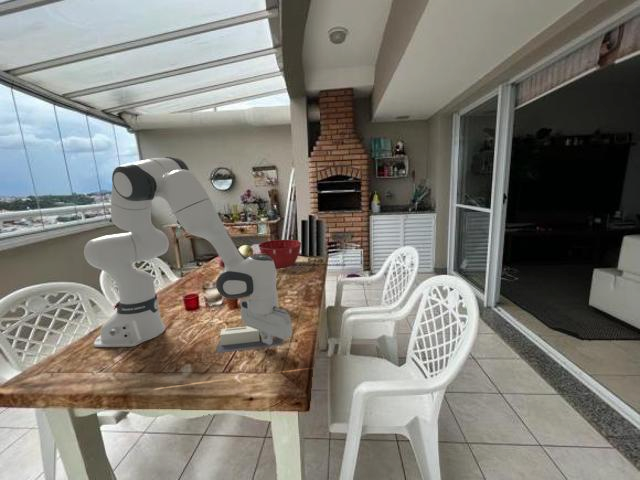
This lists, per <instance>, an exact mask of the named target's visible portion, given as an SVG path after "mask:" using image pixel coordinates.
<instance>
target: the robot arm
mask: <svg viewBox="0 0 640 480" xmlns="http://www.w3.org/2000/svg"><path fill="white" fill-rule="evenodd" d="M111 175H112V176H111V181H112V186H111V192H110V219H111V221H112V223H113V224H114V225H115V226H116V227H117V228H119V229H121V230H123V231H126V232H122V233H113V234H108V235H102V236H99V237H95V238H93V239H90V240H89V241H87V243H86V244H85V246H84V249H83V255H84V258H85V260H86V262H87V263H88V264H89V265H90V266H92V267H93V268H96V269H99V270H101V271H103V272H104V273H107V274H108V275H109V276H110V277H111V278H112V280H113V281H114V283H115V285H116V288H117V291H118V296H119V301H118V302H117V303H115V305H114V306H113V310H116V311H115V313H113V314H112V315H111V316H110V317H109V318H108V319H106V321H105V322H104V323H103V324H102V325H101V327H100V335H98V336H97V338H95V340H94V342H93V346H94V347H95V348H109V347H110V348H115V347H117V348H119V347H120V348H123V347H124V348H125V347H132V348H133V347H136V346H137V345H140V344H142V343H144V342H146V341H147V342H148V341H149V340H152V339H153V338H156V337H158V336H160V335H161V334H162V333H164V332H165V330H166V326H165V323H164V322H163V319H162V317H161V313H160V310H159V308H160V307H159V305H160V304H159V300H158V295H157V293H156V289H155V284H154V277H153V276H152V275H151V274H150V273H149V272H147V271H145V270H139V269H135V268H134V267H133V264H134V263H137V262H141V261H148V260H153V259H155V258H158V257H160V256H163V255H164V254H166V253H167V252H168V250H169V247H170V243H169V238H168V236H167V235H166V233H165V232H163V231H162V230H160V229H158V228H156V227H155V226H154V224H153V221H152V204H153V203H152V201H153V200H154V198H162V199H163V200H165V201H166V202H167V204H168V205H169V207H170V209H171V211H172V213H173V215H174V216H175V218H176V220H177V222H178V224H179V225H180V226H181V227H182V228H183V230H184V231H185V232H186V233H188V234H189V235H191V236H195V237H199V238H202V239H205V240H206V241H208V242H209V243H210V244H211V245H212V247H213V248H214V250H215V251H216V253H217V255H218V256H219V257H220V259H221V260H222V262H223V264H224V269H223V270H222V271H221V273H219V276H218V277H217V279H216V284H215V285H216V286H215V287H216V290H217V292H218V294H220V296H222V297H223V298H225V299H227V300H236V299H237V300H238V299H241V300H240V301H239V306H240V307H241V308H240V317H241V321H242V324H243V326H245V327H246V326H249V327H252V328H254V329H257V330H259V333H260V335H261V336H260V337H262V341H263V343H265V344H268V345H270V344H272V342H274V341H272V338H273V336H275V337H278V338H281V340H282V339H283V341H285V340H287V339H288V338H290V337H291V336H292V335H293V333H294V332H293V325H292V320H291V315H290V313H288V312H287V311H286V309H285V308H280V307H279V296H278V290H277V281H278V279H277V272H276V271H277V269H276V268H275V264H274V261H273V259H272V258H271V257H269V256H267V255H264V254H261V253H255V254H254V253H252V254H250V255H249V256H248V257H245V256H244V255H243V254H242V253H241V251H240V249H239V248H238V246H237V245H236V243H235V242H234V240H233V238H232V236H231V235H230V233H229V231H228V230H227V229H226V227H225V225H224V223H223V222H222V220H221V216H220V215H219V213H218V211H217V209H216V207H215V205H214V203H213V202H212V199H211V198H210V197H211V196H209V194H208V193H207V191H206V189H205V187H203V184H202V182H200V180H199V179H198V178H197V176H196V175H195V174H194V173H193V172H191V170H189V167H188V165H187V164H186V163H185V162H184V160H182V159H181V158H179V157H173V156H172V157H171V156H166V157H155V158H154V157H153V158H147V159H143V160H139V161H135V162H127V163H123V164H121V165H119V166H116V167H115V168H114V170H113V172H112V174H111ZM242 298H244V299H242Z"/></svg>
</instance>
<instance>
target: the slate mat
mask: <svg viewBox="0 0 640 480" xmlns="http://www.w3.org/2000/svg"><path fill="white" fill-rule="evenodd" d="M272 341H273V342H272V344H270V345H268V344H266V343H263V341H261V335H260V341H256V342H247V343H239V344H230V345H221V340H220V339H219V342H218V344H217V348H216V351H215V354H220V353H221V354H222V353H231V352H238V351H247V350H255V349H256V350H257V349H265V348H272V347H279V346H280V347H281V346H283V345H284V340H283V339H281V338H278V337H276V339H272Z"/></svg>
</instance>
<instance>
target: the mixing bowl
mask: <svg viewBox="0 0 640 480" xmlns="http://www.w3.org/2000/svg"><path fill="white" fill-rule="evenodd" d="M301 245H302V242H301V241H300V240H294V239H275V240H268V241H267V240H266V241H263V242H261V243H259V244H258V248H259V250H260V251H259V252H260V254H261V253H265V254H266V255H267V256H269V257H271V258H272V259H273V261H274V264H275V269H276V270H281V269H280V268H283V269H287V267H288V268H290V267H291V266H293V265H294V264H295V263H296V261H297V259H298V256H299V254H300V251H301V250H300V249H301Z"/></svg>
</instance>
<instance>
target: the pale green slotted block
mask: <svg viewBox="0 0 640 480" xmlns="http://www.w3.org/2000/svg"><path fill="white" fill-rule="evenodd" d="M260 337H261V336H260V333H259V330H257V329H254V328H252V327H249V326H246V325H245V326H240V327H230V328H221V331H220V334H219V338H220V339H219V341H220V340H221V341H220V342H221V344H220V345H228V346H229V345H230V344H235V345H236V344H238V345H239V343H247V342H252V343H253V342H256V341H259V342H260Z"/></svg>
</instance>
